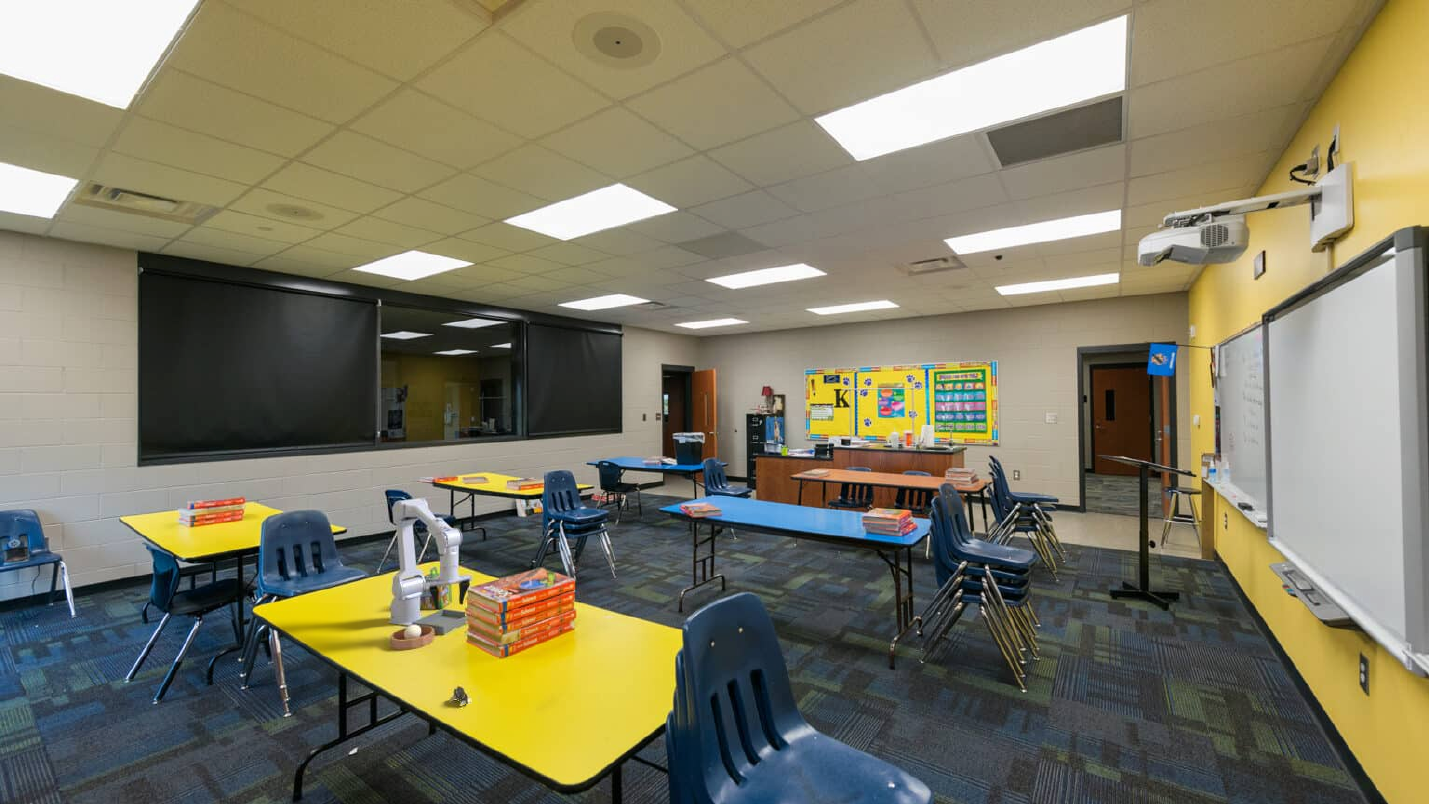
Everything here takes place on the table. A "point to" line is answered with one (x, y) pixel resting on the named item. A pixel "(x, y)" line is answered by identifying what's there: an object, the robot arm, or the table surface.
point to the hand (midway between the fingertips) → (449, 606)
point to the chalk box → (443, 596)
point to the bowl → (403, 644)
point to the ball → (412, 632)
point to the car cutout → (460, 696)
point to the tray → (443, 621)
